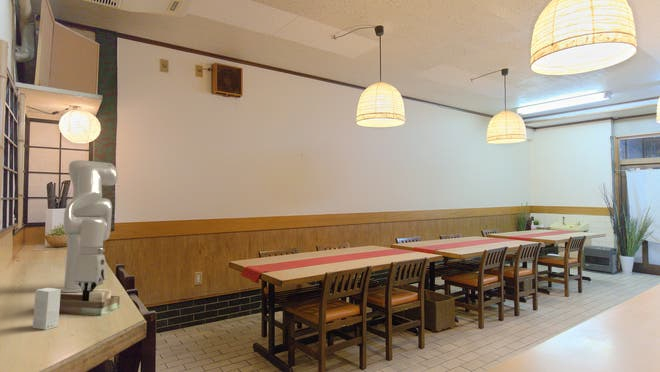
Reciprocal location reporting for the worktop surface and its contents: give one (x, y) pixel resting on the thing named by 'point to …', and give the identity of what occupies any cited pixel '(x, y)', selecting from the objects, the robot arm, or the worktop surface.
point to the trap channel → (86, 305)
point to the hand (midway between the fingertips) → (87, 300)
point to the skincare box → (46, 308)
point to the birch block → (99, 295)
